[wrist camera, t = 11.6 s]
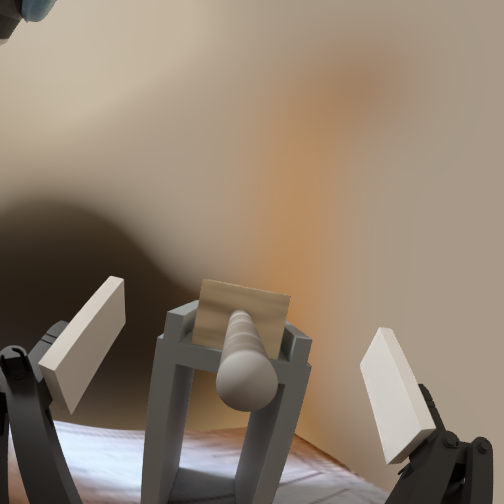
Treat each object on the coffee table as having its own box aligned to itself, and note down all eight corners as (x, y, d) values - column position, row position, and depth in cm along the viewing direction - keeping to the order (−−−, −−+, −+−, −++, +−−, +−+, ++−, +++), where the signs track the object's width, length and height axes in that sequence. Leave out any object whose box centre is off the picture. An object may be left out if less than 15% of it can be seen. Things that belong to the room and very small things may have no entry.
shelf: (251, 555, 23) (318, 335, 26) (140, 535, 23) (163, 304, 26) (246, 478, 43) (284, 314, 46) (167, 463, 42) (194, 296, 46)
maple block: (337, 465, 9) (379, 314, 10) (121, 431, 9) (143, 269, 10) (267, 341, 36) (277, 293, 37) (202, 329, 36) (211, 279, 36)
